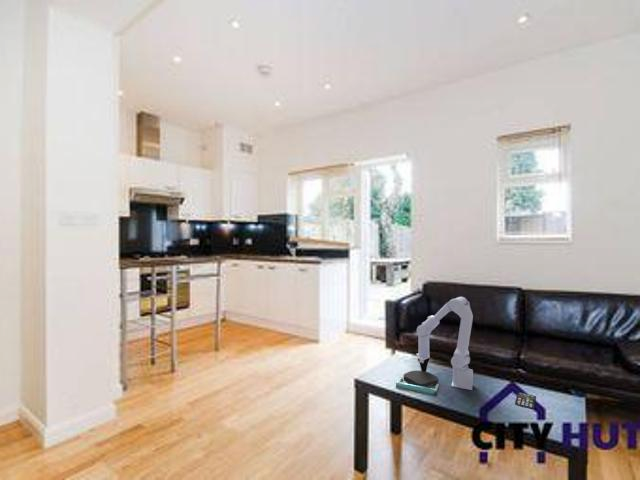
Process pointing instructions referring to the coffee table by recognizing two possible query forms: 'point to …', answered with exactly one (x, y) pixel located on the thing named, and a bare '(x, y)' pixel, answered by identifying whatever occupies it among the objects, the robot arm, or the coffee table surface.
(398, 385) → the teal tray
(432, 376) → the media streaming box
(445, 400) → the coffee table surface
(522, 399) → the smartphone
